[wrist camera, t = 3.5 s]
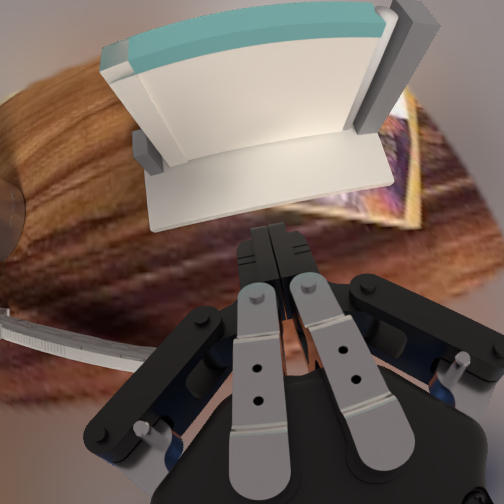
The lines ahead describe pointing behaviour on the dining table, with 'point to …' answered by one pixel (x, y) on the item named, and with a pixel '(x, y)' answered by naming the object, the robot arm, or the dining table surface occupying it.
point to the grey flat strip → (73, 344)
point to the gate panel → (249, 75)
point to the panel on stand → (291, 149)
